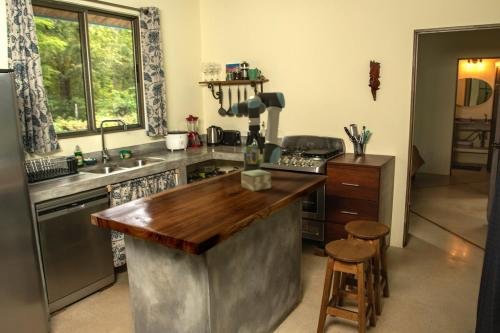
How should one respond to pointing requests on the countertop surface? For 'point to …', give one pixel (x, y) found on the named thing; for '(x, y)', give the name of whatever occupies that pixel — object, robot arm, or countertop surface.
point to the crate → (256, 182)
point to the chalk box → (253, 154)
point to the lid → (255, 173)
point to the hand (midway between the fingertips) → (255, 158)
